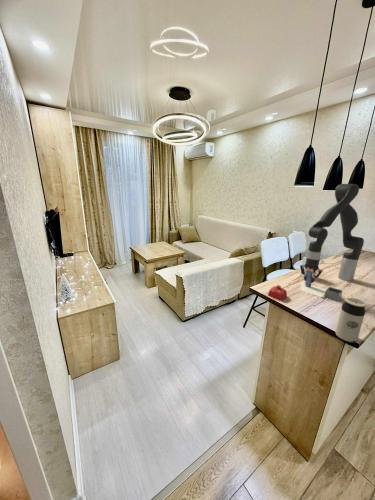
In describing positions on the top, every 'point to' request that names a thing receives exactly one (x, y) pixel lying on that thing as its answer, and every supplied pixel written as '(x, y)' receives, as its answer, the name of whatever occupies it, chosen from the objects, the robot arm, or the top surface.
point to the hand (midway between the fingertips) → (308, 281)
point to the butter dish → (277, 292)
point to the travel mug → (350, 319)
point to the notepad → (313, 290)
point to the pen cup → (333, 293)
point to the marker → (308, 278)
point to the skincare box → (303, 264)
